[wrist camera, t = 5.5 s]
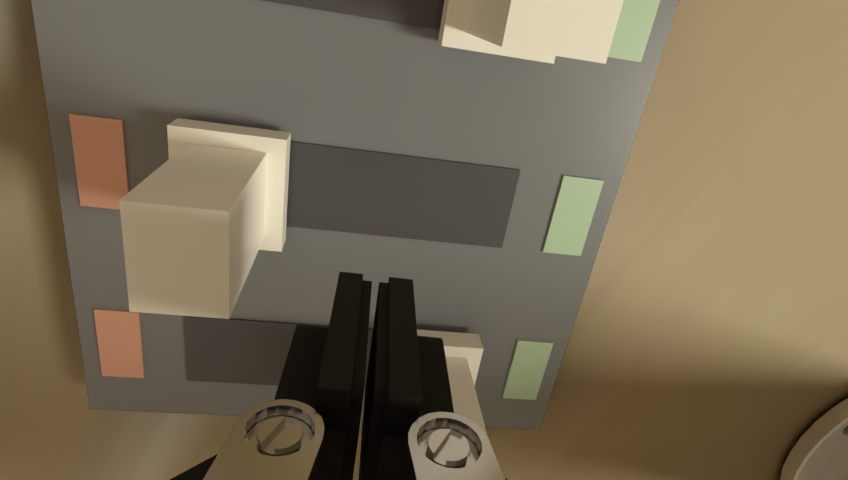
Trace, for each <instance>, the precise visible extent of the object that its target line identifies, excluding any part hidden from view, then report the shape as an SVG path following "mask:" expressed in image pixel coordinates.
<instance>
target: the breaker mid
mask: <svg viewBox="0 0 848 480" xmlns="http://www.w3.org/2000/svg"><path fill="white" fill-rule="evenodd" d="M167 134H168V154H169V160H167V161H166V162H165V163H164V164H163V165H161V166H160V167H159V168H158V169H157V170H155V171H154V172H153V173H152V174H151V175H149V176H148V177H147V178H146V179H144V180H143V181H142V182H141V183H140V184H138V185H137V186H136V187H135V188H134V189H132V190H131V191H130V192H129V193H128V194H126V195H125V196H124V197H123V198H122V199H120V200H119V204H120V215H121V226H122V236H123V247H124V258H125V268H126V279H127V290H128V300H129V311H130V312H141V313H154V314H168V315H182V316H195V317H209V318H223V319H229V318H230V316H231V313H232V311H233V309H234V306H235V304H236V302H237V299H238V297H239V295H240V292H241V290H242V288H243V285H244V283H245V281H246V278H247V276H248V274H249V271H250V269H251V267H252V265H253V262H254V260H255V258H256V255H257V253H258V251H259V250H268V251H278V252H282V249H283V246H284V243H285V240H286V223H287V202H288V182H289V162H290V141H291V132H283V131H275V130H268V129H260V128H252V127H244V126H236V125H228V124H220V123H213V122H205V121H197V120H189V119H181V118H177V119H176V120H174V121H173V122H171V123H170V124H168V125H167Z"/></svg>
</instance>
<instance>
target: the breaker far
mask: <svg viewBox="0 0 848 480" xmlns="http://www.w3.org/2000/svg"><path fill="white" fill-rule="evenodd" d="M417 336H427V337H437V338H442V340H443V344H444V351H445V357H446V364H447V370H448V377H449V383H450V389H451V396H452V402H453V409H454V413H455V414H458V415H461V416H464V417H466V418H468V419H469V420H471V421H473V422H475V423H476V424H477V425H478V426H479V427H480V428H481V429H482V430H483V431H484V432H485V434H486V436H487V437H488V435H487V432H486V428H485V424H484V420H483V417H482V413H481V409H480V405H479V402H478V398H477V394H476V390H475V387H474V386H475V382H476V378H477V374H478V370H479V366H480V362H481V357H482V353H483V349H484V348H483V345H482V342H481V339H480V336H479V334H472V333H458V332H445V331H431V330H418V329H417Z"/></svg>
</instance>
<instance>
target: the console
mask: <svg viewBox="0 0 848 480" xmlns="http://www.w3.org/2000/svg"><path fill="white" fill-rule="evenodd" d="M678 3H679V0H624V1H623V5H622V8H621V12H620V15H619V19H618V22H617V26H616V30H615V33H614V37H613V40H612V44H611V47H610V51H609V54H608V58H607V61H606V64H604V63H597V62H591V61H585V60H579V59H573V58H566V57H560V56H556V57H555V61H554V64H552V63H546V62H539V61H533V60H527V59H520V58H514V57H508V56H501V55H495V54H489V53H482V52H476V51H470V50H463V49H457V48H451V47H445V46H441V45H439V44H438V38H439V32H440V25H441V19H442V12H443V6H444V0H31V4H32V11H33V18H34V25H35V32H36V39H37V45H38V52H39V59H40V66H41V73H42V80H43V87H44V94H45V101H46V108H47V115H48V122H49V129H50V136H51V143H52V150H53V157H54V164H55V171H56V178H57V185H58V191H59V198H60V205H61V212H62V219H63V226H64V233H65V240H66V247H67V254H68V261H69V268H70V275H71V282H72V289H73V296H74V303H75V310H76V317H77V324H78V331H79V337H80V344H81V351H82V358H83V365H84V372H85V379H86V386H87V393H88V400H89V407H90V409H102V410H124V411H145V412H167V413H188V414H209V415H231V416H242V415H243V414H244V413H245V412H246V411H248V410H249V409H251V408H252V407H254V406H255V405H258V404H261V403H263V402H266V401H270V400H274V399H275V395H276V392H277V389H278V385H279V382H280V379H281V375H282V372H283V368H284V365H285V362H286V358H287V355H288V352H289V348H290V345H291V342H292V338H293V335H294V332H295V328H296V326H297V324H302V325H312V326H323V327H329V323H330V318H331V313H332V308H333V303H334V298H335V293H336V287H337V282H338V277H339V272H349V273H358V274H363V280H365V281H372V288H371V302H370V316H369V330H368V344H367V358H366V373H365V385H366V376H367V369H368V361H369V354H370V346H371V339H372V332H373V324H374V317H375V309H376V302H377V295H378V287H379V282H384V283H388V280H389V277H395V278H404V279H413V287H414V300H415V313H416V325H417V329H418V330H431V331H445V332H458V333H472V334H479V336H480V339H481V342H482V345H483V348H484V349H483V353H482V357H481V362H480V366H479V370H478V374H477V378H476V382H475V386H474V387H475V390H476V394H477V398H478V402H479V405H480V409H481V413H482V417H483V420H484V424H485V427H488V428H510V429H531V430H540V427H541V424H542V421H543V418H544V415H545V411H546V408H547V405H548V402H549V399H550V396H551V393H552V390H553V387H554V384H555V381H556V378H557V375H558V372H559V368H560V365H561V362H562V359H563V356H564V353H565V350H566V347H567V344H568V341H569V338H570V335H571V332H572V329H573V325H574V322H575V319H576V316H577V313H578V310H579V307H580V304H581V301H582V298H583V295H584V292H585V289H586V286H587V283H588V279H589V276H590V273H591V270H592V267H593V264H594V261H595V258H596V255H597V252H598V249H599V246H600V243H601V240H602V236H603V233H604V230H605V227H606V224H607V221H608V218H609V215H610V212H611V209H612V206H613V203H614V200H615V197H616V193H617V190H618V187H619V184H620V181H621V178H622V175H623V172H624V169H625V166H626V163H627V160H628V157H629V154H630V150H631V147H632V144H633V141H634V138H635V135H636V132H637V129H638V126H639V123H640V120H641V117H642V114H643V111H644V108H645V104H646V101H647V98H648V95H649V92H650V89H651V86H652V83H653V80H654V77H655V74H656V71H657V68H658V65H659V61H660V58H661V55H662V52H663V49H664V46H665V43H666V40H667V37H668V34H669V31H670V28H671V25H672V22H673V18H674V15H675V12H676V9H677V6H678ZM177 118H181V119H189V120H197V121H205V122H213V123H220V124H228V125H236V126H244V127H252V128H260V129H268V130H275V131H283V132H291V141H290V162H289V182H288V202H287V223H286V240H285V243H284V246H283V249H282V252H278V251H268V250H259V251H258V253H257V255H256V258H255V260H254V262H253V265H252V267H251V269H250V271H249V274H248V276H247V278H246V281H245V283H244V285H243V288H242V290H241V292H240V295H239V297H238V299H237V302H236V304H235V306H234V309H233V311H232V313H231V316H230V318H229V319H223V318H209V317H195V316H182V315H168V314H154V313H141V312H130V311H129V300H128V290H127V279H126V268H125V258H124V247H123V236H122V226H121V215H120V204H119V200H120V199H122V198H123V197H124V196H125V195H126V194H128V193H129V192H130V191H131V190H132V189H134V188H135V187H136V186H137V185H138V184H140V183H141V182H142V181H143V180H144V179H146V178H147V177H148V176H149V175H151V174H152V173H153V172H154V171H155V170H157V169H158V168H159V167H160V166H161V165H163V164H164V163H165V162H166V161H167V160H169V154H168V134H167V125H168V124H170V123H171V122H173V121H174V120H176V119H177ZM364 397H365V386H364V396H363V404H362V412H361V419H360V422H363V411H364Z"/></svg>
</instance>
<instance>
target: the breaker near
mask: <svg viewBox="0 0 848 480" xmlns="http://www.w3.org/2000/svg"><path fill="white" fill-rule="evenodd" d="M623 1H624V0H444V6H443V12H442V19H441V25H440V32H439V38H438V44H439V45H441V46H445V47H451V48H457V49H463V50H470V51H476V52H482V53H489V54H495V55H501V56H508V57H514V58H520V59H527V60H533V61H539V62H546V63H552V64H554V61H555V57H556V56H560V57H566V58H573V59H579V60H585V61H591V62H597V63H604V64H606V61H607V58H608V54H609V51H610V47H611V44H612V40H613V37H614V33H615V30H616V26H617V22H618V19H619V15H620V12H621V8H622V5H623Z"/></svg>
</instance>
